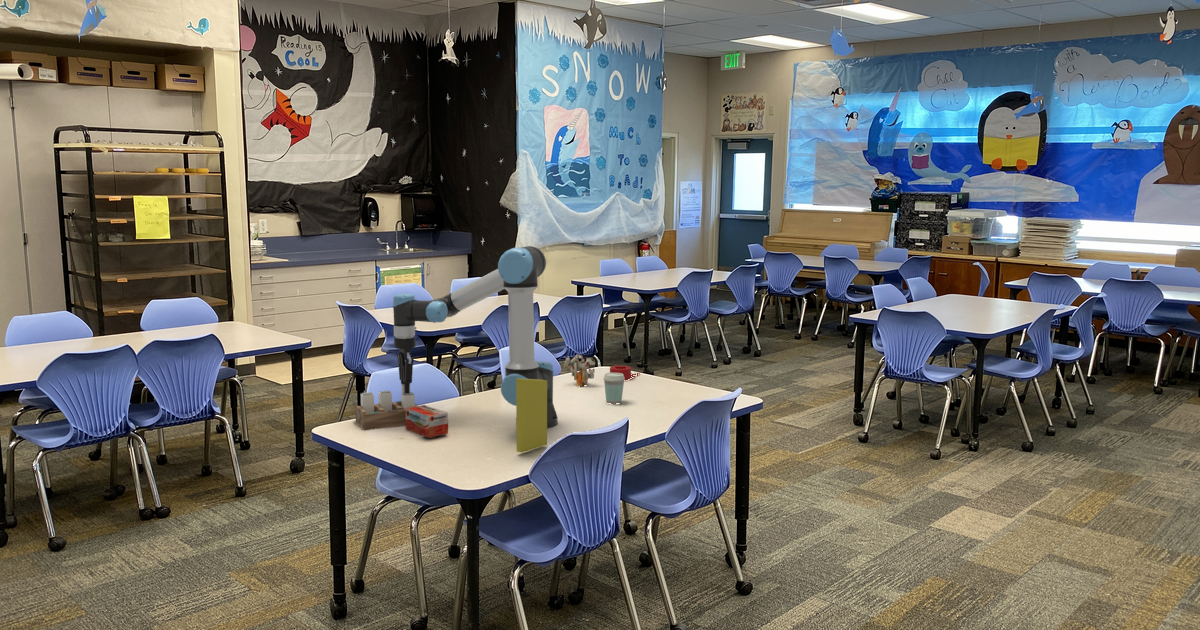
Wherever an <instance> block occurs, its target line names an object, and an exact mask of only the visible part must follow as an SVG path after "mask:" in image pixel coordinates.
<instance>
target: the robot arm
mask: <svg viewBox="0 0 1200 630" xmlns="http://www.w3.org/2000/svg"><path fill="white" fill-rule="evenodd" d="M546 267H547V259H546V256H545V254H544V253H543V252H542V250H541V249H539V248H538V247H536V246H531V245H528V246H526V245H525V246H521V247H519V246H517V247H513V248H510V249H508V250H506V251H504V253H502V255H501V256H500V258H499V261H498V262H497V268H496V269H495V270H492V271H491V272H489V273H487V274H486V275H484V276H481V277H480V278H479V277H478V279H476V280H473V281H471V282H470V283H468V284H466V285H463V286H462V287H459V288H458V289H456V290H454V291H452V292H450V293H449V294H447V295H444V296H442V297H439V298H436V299H435V298H434V299H431V300H430V299H429V300H418V299H416V298H415V294H412V293H398V294H395V295H394V296H393V301H392V302H393V305H392V308H393V309H392V310H393V336H394V338H393V346H394V348H395V349H398V350H399V351H398V353H396V356H397V357H396V358H397V365H398V375H399V376H398V377H399V380H400V384H401V394H402V393H409V392H411V383H412V382H413V372H414V371H413V369H414V368H413V366H414V361H415V359H414V358H413V354H412V351H411V349H414V348H415V347H416V346H417V345H416V337H415V335H416V330H417V327H416V322H425V323H433V324H435V323H443V322H445V320H446V319H447V318H452V317H454V316H456V315H458V313H460V312H462V311H464V310H465V309H468V308H469V307H471V306H473V305H475V304H477V303H479V302H482V301H483V300H485V299H487V298H489V297H491V296H494V295H495V294H497V293H500V292H502V291H503V290H506V291H507V301H508V307H507V308H508V351H509V352H508V353H509V355H508V356H509V359H508V360H509V361H508V362H507V363H506V364H505V366H504V367H505V368H504V370H505V372H504V373H505V375H504V376H505V377H504V378H503V379H502V381H501V384H500V392H501V395H502V397H503V399H504V400H505V401H507V402H508V403H509V404H510V405H512V406H515V407H516V378H519V379H537V380H546V381H547V429H548V428H552V427H556V426H558V422H559V421H558V419H559V418H558V414H557V411H556V408H555V406H554V368H553V364H552V363H551V362H550V361H542V360H535V323H534V320H535V319H534V317H535V316H534V315H535V314H534V313H535V312H534V291H535V290H536V289H537V288H538V286H539V285H538V283H539V282H538V278H539V277H540V276H541V275H542V274H543V273H544V271H545V270H546Z"/></svg>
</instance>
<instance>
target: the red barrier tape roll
mask: <svg viewBox="0 0 1200 630" xmlns="http://www.w3.org/2000/svg"><path fill="white" fill-rule="evenodd" d="M609 373H622V374H624V377H625V380H628V379H630V378H632V377H635V376H633V375H636V374H632V373H633V372H632V367H631V366H629V365H628V366H627V365H612V366H610V367H609ZM636 373H637V377H639V376H638V374H640V375H641V373H639V372H636ZM631 374H632V375H631ZM631 376H632V377H631ZM635 378H636V377H635Z"/></svg>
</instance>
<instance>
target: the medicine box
mask: <svg viewBox="0 0 1200 630" xmlns="http://www.w3.org/2000/svg"><path fill="white" fill-rule="evenodd" d="M405 409H406V425H405V430H407V431H409V432H411V433H414V434H417V435H420V436H422V437H425V438H428V439H430V438H436V436H439V437H440V436H441V437H442V436H445V435H448V434H449V416H448V415H449V414H448V411H444V410H442V409H438V408H435V407H432V406H429V405H426V404H421V405H418V406H414V407H408V408H405Z"/></svg>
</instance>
